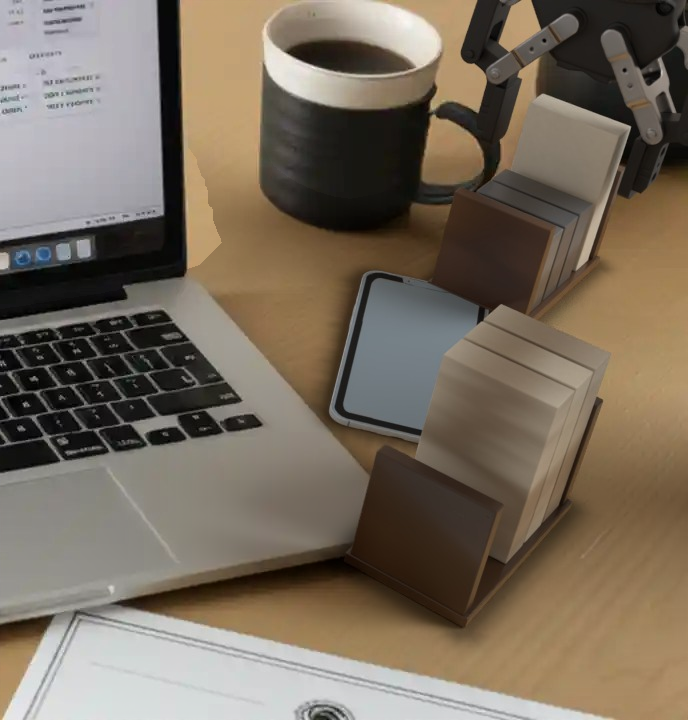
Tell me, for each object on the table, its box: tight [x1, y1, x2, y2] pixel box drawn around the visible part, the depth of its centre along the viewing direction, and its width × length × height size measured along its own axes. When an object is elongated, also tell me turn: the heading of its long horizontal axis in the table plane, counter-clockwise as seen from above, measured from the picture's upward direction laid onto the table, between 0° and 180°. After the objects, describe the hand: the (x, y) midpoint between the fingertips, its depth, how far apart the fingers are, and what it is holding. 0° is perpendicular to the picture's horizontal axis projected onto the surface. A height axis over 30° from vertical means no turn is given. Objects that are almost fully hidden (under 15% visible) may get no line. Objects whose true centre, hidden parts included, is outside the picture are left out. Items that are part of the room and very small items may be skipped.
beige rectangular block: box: [509, 93, 632, 271], centre depth 97 cm, size 6×2×9 cm, turn 51°
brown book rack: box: [343, 304, 612, 629], centre depth 75 cm, size 6×11×10 cm, turn 141°
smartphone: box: [328, 270, 489, 444], centre depth 90 cm, size 7×1×15 cm
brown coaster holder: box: [427, 164, 626, 321], centre depth 96 cm, size 6×10×7 cm, turn 141°
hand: (558, 165), depth 96 cm, fingers open, 8 cm apart
